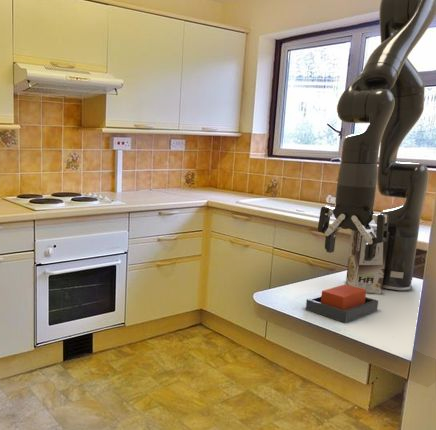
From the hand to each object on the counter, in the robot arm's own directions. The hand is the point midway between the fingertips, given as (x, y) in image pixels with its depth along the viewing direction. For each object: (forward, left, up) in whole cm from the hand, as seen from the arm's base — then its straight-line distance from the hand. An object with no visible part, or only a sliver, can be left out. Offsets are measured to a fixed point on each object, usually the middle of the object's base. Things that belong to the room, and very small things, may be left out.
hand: (348, 256), depth 102 cm
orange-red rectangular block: (0, 0, -12) cm, 12 cm away
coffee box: (-22, -6, -13) cm, 26 cm away
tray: (0, 0, -13) cm, 13 cm away
